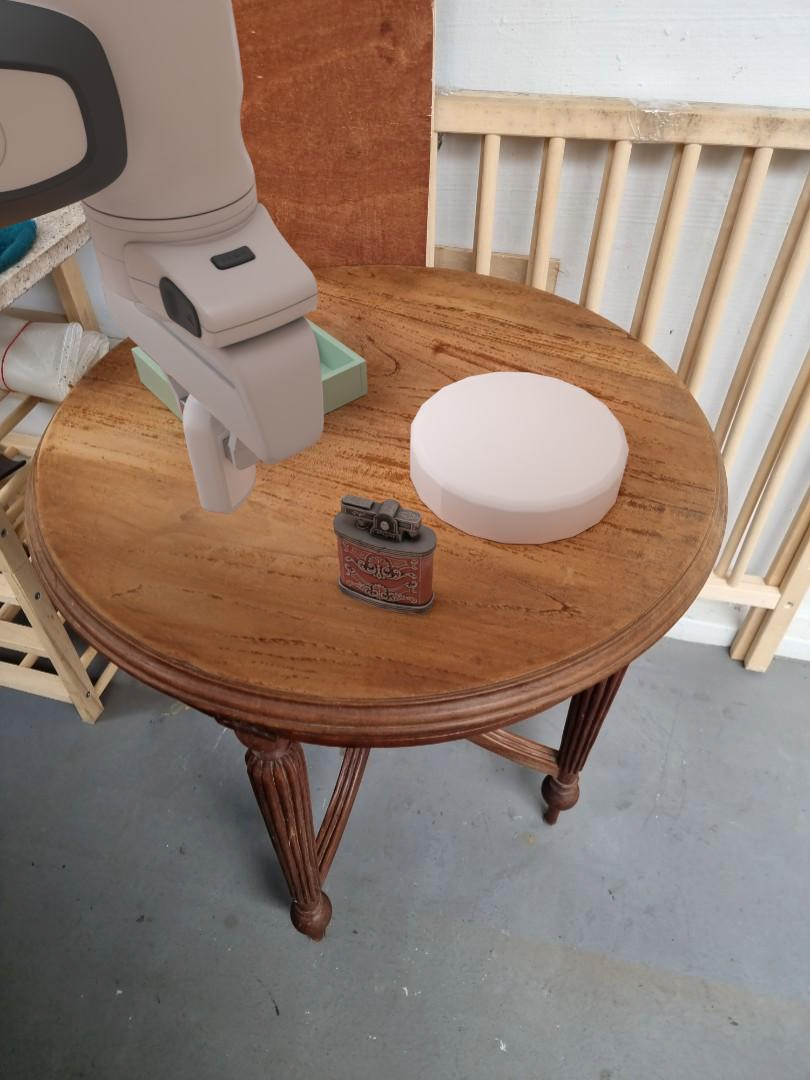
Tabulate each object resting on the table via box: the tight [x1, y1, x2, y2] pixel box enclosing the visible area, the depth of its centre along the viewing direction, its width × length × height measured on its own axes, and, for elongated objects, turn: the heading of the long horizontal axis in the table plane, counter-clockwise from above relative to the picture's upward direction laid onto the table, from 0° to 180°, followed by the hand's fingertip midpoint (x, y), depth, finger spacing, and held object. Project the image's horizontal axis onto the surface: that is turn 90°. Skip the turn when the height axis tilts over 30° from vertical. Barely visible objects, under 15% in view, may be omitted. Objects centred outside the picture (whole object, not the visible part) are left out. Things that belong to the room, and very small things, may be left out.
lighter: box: [332, 494, 438, 615], centre depth 60 cm, size 8×3×10 cm, turn 71°
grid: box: [131, 317, 368, 423], centre depth 81 cm, size 17×17×4 cm
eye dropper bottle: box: [182, 394, 257, 515], centre depth 51 cm, size 4×6×12 cm
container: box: [409, 371, 630, 545], centre depth 72 cm, size 20×20×5 cm
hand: (219, 438), depth 52 cm, fingers closed on eye dropper bottle, 4 cm apart
